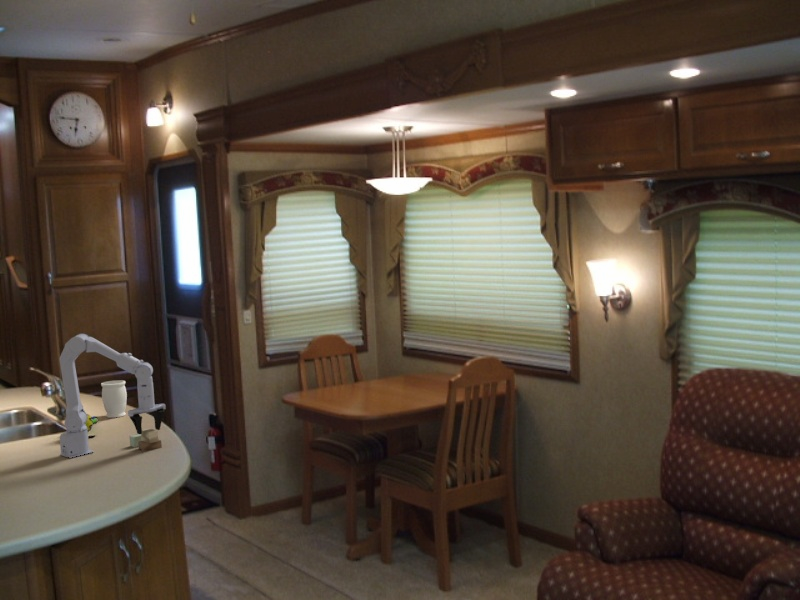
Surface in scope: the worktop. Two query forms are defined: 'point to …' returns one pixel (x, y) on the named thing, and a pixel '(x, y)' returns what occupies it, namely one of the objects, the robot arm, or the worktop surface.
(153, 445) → the walnut slab
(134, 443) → the sage brick
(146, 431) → the maple brick
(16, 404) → the worktop surface
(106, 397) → the jar
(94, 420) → the toy
